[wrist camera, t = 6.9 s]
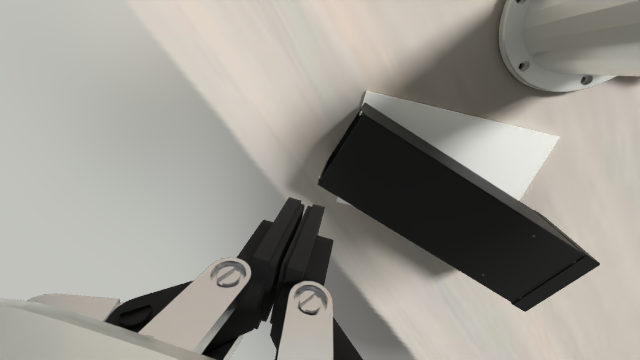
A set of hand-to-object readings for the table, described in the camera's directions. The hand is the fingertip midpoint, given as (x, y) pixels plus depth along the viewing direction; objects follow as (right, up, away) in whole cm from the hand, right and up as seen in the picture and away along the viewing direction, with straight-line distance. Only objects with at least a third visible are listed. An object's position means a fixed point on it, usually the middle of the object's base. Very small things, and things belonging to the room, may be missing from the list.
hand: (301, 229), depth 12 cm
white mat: (+14, +3, +18) cm, 23 cm away
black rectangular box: (+3, +6, +14) cm, 16 cm away
